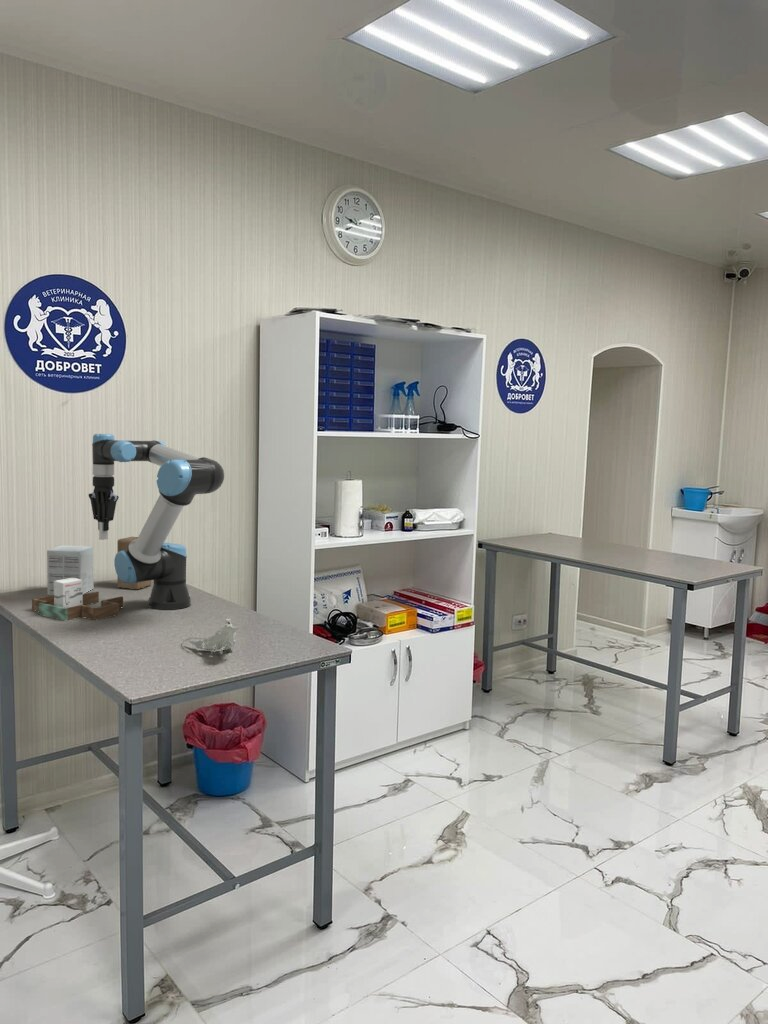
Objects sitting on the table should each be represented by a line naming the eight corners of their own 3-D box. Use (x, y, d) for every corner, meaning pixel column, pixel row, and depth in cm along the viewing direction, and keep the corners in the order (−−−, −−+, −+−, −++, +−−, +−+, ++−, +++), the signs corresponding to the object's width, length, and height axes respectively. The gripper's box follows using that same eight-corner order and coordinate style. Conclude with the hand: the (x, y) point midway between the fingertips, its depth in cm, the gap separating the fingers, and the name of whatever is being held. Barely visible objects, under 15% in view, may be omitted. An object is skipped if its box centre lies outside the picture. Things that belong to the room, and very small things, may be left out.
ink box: (62, 616, 268) (62, 582, 267) (53, 614, 271) (52, 581, 270) (83, 612, 276) (83, 579, 275) (74, 610, 278) (73, 577, 277)
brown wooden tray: (136, 610, 281) (136, 599, 280) (79, 624, 260) (79, 612, 259) (84, 599, 295) (84, 589, 294) (25, 611, 274) (25, 600, 273)
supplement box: (61, 588, 313) (60, 544, 311) (94, 589, 313) (93, 546, 311) (46, 595, 300) (46, 550, 298) (81, 596, 300) (80, 551, 298)
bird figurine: (230, 638, 249) (253, 597, 232) (236, 665, 244) (259, 625, 227) (180, 643, 241) (199, 601, 224) (185, 670, 237) (205, 630, 219)
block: (116, 588, 316) (116, 539, 314) (131, 583, 326) (131, 536, 324) (138, 590, 313) (138, 541, 311) (152, 586, 323) (152, 537, 321)
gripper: (124, 476, 289) (124, 539, 292) (98, 474, 295) (98, 536, 298) (108, 477, 283) (108, 542, 285) (82, 475, 289) (82, 538, 291)
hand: (103, 539), depth 292 cm, fingers closed
